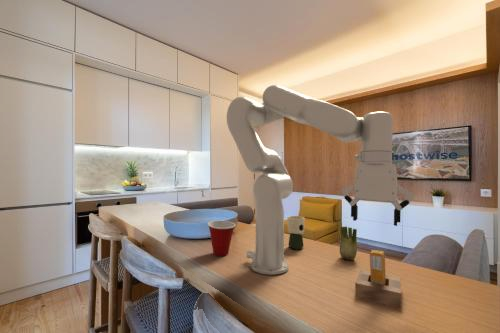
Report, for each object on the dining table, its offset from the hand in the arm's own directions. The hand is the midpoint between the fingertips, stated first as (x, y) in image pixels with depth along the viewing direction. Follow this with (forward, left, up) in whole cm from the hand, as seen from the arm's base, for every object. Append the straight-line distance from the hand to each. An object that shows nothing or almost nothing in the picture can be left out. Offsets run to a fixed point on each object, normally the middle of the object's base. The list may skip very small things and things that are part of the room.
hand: (374, 222), depth 64 cm
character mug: (-31, +25, -19) cm, 44 cm away
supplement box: (+1, 0, -18) cm, 18 cm away
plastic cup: (-53, +2, -19) cm, 57 cm away
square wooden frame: (+1, 0, -19) cm, 19 cm away
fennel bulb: (-11, +23, -19) cm, 32 cm away
